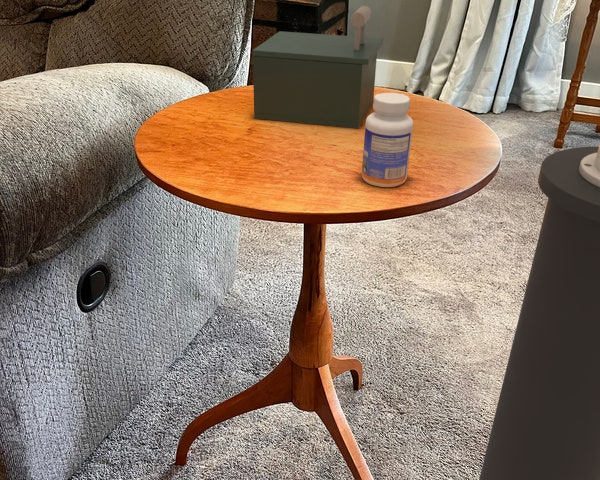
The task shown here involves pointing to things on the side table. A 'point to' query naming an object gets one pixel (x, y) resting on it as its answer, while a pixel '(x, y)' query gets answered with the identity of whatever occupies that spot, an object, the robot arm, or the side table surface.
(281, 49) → the case lid
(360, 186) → the side table surface
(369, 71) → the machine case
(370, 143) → the pill bottle
